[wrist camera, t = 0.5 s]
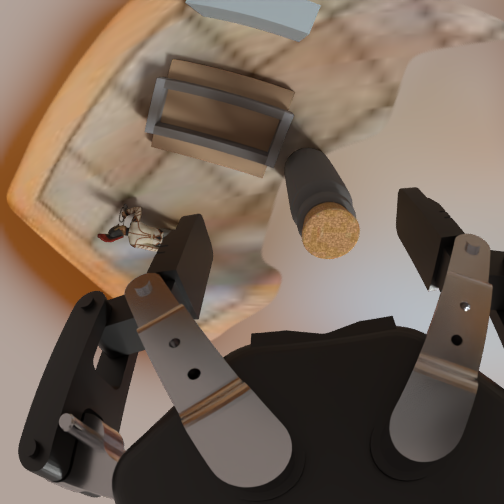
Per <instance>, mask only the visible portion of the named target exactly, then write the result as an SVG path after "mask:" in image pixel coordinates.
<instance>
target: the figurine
mask: <svg viewBox="0 0 504 504" xmlns="http://www.w3.org/2000/svg"><path fill="white" fill-rule="evenodd" d="M123 208H124V212H122V217H123V221H124V219H126V216H128V215H130V214H132V213H135V215H134V217H133V219H132V222H131V223H130V228H127V227H126V226H124V222H123V221H122V222H123V225H122V226H119V224H118V225H117V226H114V227H113V228H111V229H110V230H109V232H108V233H109V234H98V238H100V239H101V240H103V241H104V242H113V241H115V240H118V239H120V238H123V235H126V236H128V238H129V242H130V245H131V246H132V247H134V248H135V247H138V248H142V249H147V250H150V251H158V249H159V247H160V245H161V243H162V241H163V239H164V237H165V236H166V235H167V234H168V233H169V232H171V230H168V229H158V228H152V227H149V226H147V225H145V224H143V223H142V222H141V221H140V220H141V214H142V208H141V207H133V208H130V209H127V205H126V204H124V207H122V208H121V210H122V209H123ZM120 214H121V211H120ZM119 221H120V215H119ZM120 222H121V221H120Z"/></svg>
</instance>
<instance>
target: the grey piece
mask: <svg viewBox="0 0 504 504" xmlns="http://www.w3.org/2000/svg"><path fill="white" fill-rule="evenodd" d="M294 94H295V92H294V91H291V90H288V89H285V88H283V87H280V86H277V85H274V84H271V83H268V82H265V81H261V80H258V79H255V78H252V77H248V76H245V75H241V74H238V73H234V72H230V71H226V70H223V69H219V68H215V67H210V66H206V65H202V64H197V63H192V62H187V61H182V60H177V59H172V62H171V66H170V69H169V73H168V77H167V78H166V77H159V78H157V80H156V84H155V88H154V92H153V96H152V101H151V105H150V109H149V114H148V118H147V123H146V128H145V132H147V133H151V134H154V135H153V140H152V145H151V147H154V148H158V149H162V150H166V151H170V152H174V153H178V154H182V155H185V156H189V157H193V158H196V159H200V160H204V161H207V162H211V163H214V164H218V165H221V166H225V167H228V168H231V169H235V170H238V171H241V172H244V173H248V174H251V175H254V176H257V177H260V178H263V175H264V173H265V170H266V167H267V166H269V167H272V168H274V165H275V163H276V160H277V157H278V155H279V152H280V150H281V147H282V144H283V142H284V139H285V137H286V134H287V132H288V129H289V127H290V124H291V121H292V119H293V116H294V114H293V113H292V112H290V111H288V110H289V107H290V104H291V102H292V99H293V97H294Z"/></svg>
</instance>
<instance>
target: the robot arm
mask: <svg viewBox="0 0 504 504" xmlns="http://www.w3.org/2000/svg"><path fill="white" fill-rule="evenodd" d="M396 229H397V234H398V236H399V239H400V240H401V242H402V243H403V245H404V247H405V249H406V251H407V252H408V254H409V256H410V258H411V259H412V261H413V263H414V265H415V267H416V269H417V271H418V273H419V274H420V276H421V278H422V280H423V282H424V284H425V286H426V288H427V290H428V292H430V291H435V290H440V292H441V294H440V297H439V300H438V303H437V306H436V309H435V312H434V315H433V318H432V321H431V323H430V326H429V329H428V332H427V334H424V333H422V332H420V331H417V330H415V329H411V328H407V327H401V326H396V325H395V322H394V319H393V316H389V317H383V318H377V319H371V320H365V321H359V322H356V323H354V324H351V325H348V326H346V327H343V328H340V329H337V330H335V331H332V332H329V333H326V334H318V333H307V332H296V331H287V330H286V331H276V332H265V333H252V334H251V344H250V345H247V346H244V347H242V348H239V349H237V350H235V351H233V352H231V353H229V354H228V355H226V356H225V357H222V356H221V355H220V353H219V352H218V351H217V350H216V348H215V347H214V346H213V344H212V343H211V342H210V340H209V339H208V338H207V336H206V335H205V334H204V333H203V331H202V330H201V329H200V327H199V326H198V325H197V323H196V322H195V320H194V319H199V315H200V311H201V307H202V302H203V298H204V294H205V290H206V285H207V281H208V277H209V273H210V269H211V265H212V261H213V250H212V245H211V242H210V239H209V236H208V233H207V230H206V226H205V223H204V220H203V217H202V215H201V214H194V215H188V216H183V217H181V219H180V221H179V223H178V225H177V228H176V230H172V231H171V232H169V233H168V234H167V235H166V236H165V237H164V239H163V241H162V243H161V245H160V247H159V249H158V251H157V254H156V255H155V257H154V259H153V261H152V263H151V265H150V267H149V269H148V271H147V273H146V274H143V275H140V276H138V277H137V278H135V279H134V280H132V281H131V282H130V283H129V284H128V286H127V287H126V289H125V295H122V296H119V297H116V298H113V299H110V300H107V298H106V297H105V295H104V294H103V293H102V292H100V291H93V292H90V293H88V294H86V295H84V296H83V297H82V298H81V299H80V300H79V301H78V302H77V303H76V305H75V306H74V308H73V310H72V312H71V314H70V316H69V318H68V320H67V322H66V324H65V326H64V328H63V330H62V332H61V335H60V337H59V339H58V341H57V343H56V346H55V348H54V350H53V352H52V354H51V357H50V359H49V361H48V364H47V366H46V369H45V371H44V374H43V376H42V378H41V381H40V383H39V386H38V389H37V391H36V394H35V397H34V400H33V402H32V405H31V408H30V411H29V414H28V417H27V420H26V423H25V426H24V429H23V432H22V436H21V439H20V443H19V449H18V454H19V459H20V462H21V463H22V465H23V466H24V468H26V469H27V470H29V471H31V472H33V473H35V474H37V475H39V476H41V477H43V478H45V479H46V480H47V481H49V482H52V483H54V484H56V485H59V486H61V487H64V488H66V489H68V490H71V491H73V492H79V493H82V494H84V495H87V496H91V497H100V496H103V497H107V498H110V499H114V500H115V503H116V504H504V389H503V388H502V387H500V386H499V385H498V384H496V383H495V382H493V381H492V380H491V379H490V378H488V377H487V376H485V375H484V374H483V373H481V372H480V371H479V367H480V363H481V358H482V354H483V349H484V344H485V339H486V333H487V328H488V321H489V316H490V318H491V320H492V322H493V324H494V327H495V329H496V331H497V333H498V336H499V338H500V340H501V343H502V345H503V347H504V252H501V251H493V250H490V247H489V245H488V244H487V242H486V241H485V240H483V239H482V238H480V237H478V236H476V235H473V234H465V233H464V232H463V231H462V229H460V227H459V226H458V225H457V223H456V222H455V221H454V220H453V219H452V218H450V215H448V213H447V212H445V210H444V209H443V208H442V207H441V205H440V204H439V203H437V202H435V201H433V200H432V199H430V198H427V197H426V196H425V195H424V194H423V193H422V192H421V191H420V190H419V189H418V188H416V187H414V188H402V189H399V192H398V203H397V217H396ZM97 346H99V347H100V348H101V350H102V353H101V356H100V359H99V362H98V365H97V368H96V370H95V368H94V365H93V358H94V355H95V352H96V349H97ZM143 350H146V352H147V354H148V356H149V358H150V360H151V362H152V364H153V366H154V368H155V370H156V372H157V374H158V376H159V378H160V380H161V382H162V384H163V386H164V388H165V390H166V391H167V393H168V395H169V397H170V399H171V401H172V403H173V404H174V406H173V407H172V408H171V409H170V410H169V411H168V412H167V413H166V414H165V415H164V416H163V417H162V418H161V419H160V420H159V421H157V422H156V423H155V424H154V425H153V426H152V427H151V428H150V429H149V430H148V431H147V432H146V433H145V434H144V435H143V436H142V437H141V438H139V439H138V440H137V441H136V442H135V443H134V444H133V445H132V446H131V447H130V448H129V449H127V451H125V449H124V442H123V438H122V437H121V435H120V434H119V430H120V425H121V421H122V416H123V411H124V407H125V403H126V398H127V394H128V390H129V386H130V382H131V378H132V374H133V370H134V367H135V363H136V359H137V355H138V352H139V351H143Z"/></svg>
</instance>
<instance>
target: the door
mask: <svg viewBox="0 0 504 504" xmlns="http://www.w3.org/2000/svg"><path fill="white" fill-rule="evenodd" d="M186 4H188V5H189V6H190V7H192V8H193V9H194V10H196V11H197V12H198V13H200V14H201V15H202V16H204V17H210V18H215V19H220V20H224V21H229V22H233V23H237V24H241V25H245V26H249V27H253V28H256V29H260V30H263V31H267V32H270V33H273V34H276V35H280V36H283V37H286V38H289V39H291V40H294V41H297V42H300V41H301V40H302V39H303V38H305V37H306V36H307V35H309V33H310V30H311V28H312V26H313V23H314V21H315V18H316V16H317V13H318V11H319V8H320V6H321V5H319V4H316V3H313V2H311V1H308V0H186Z"/></svg>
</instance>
